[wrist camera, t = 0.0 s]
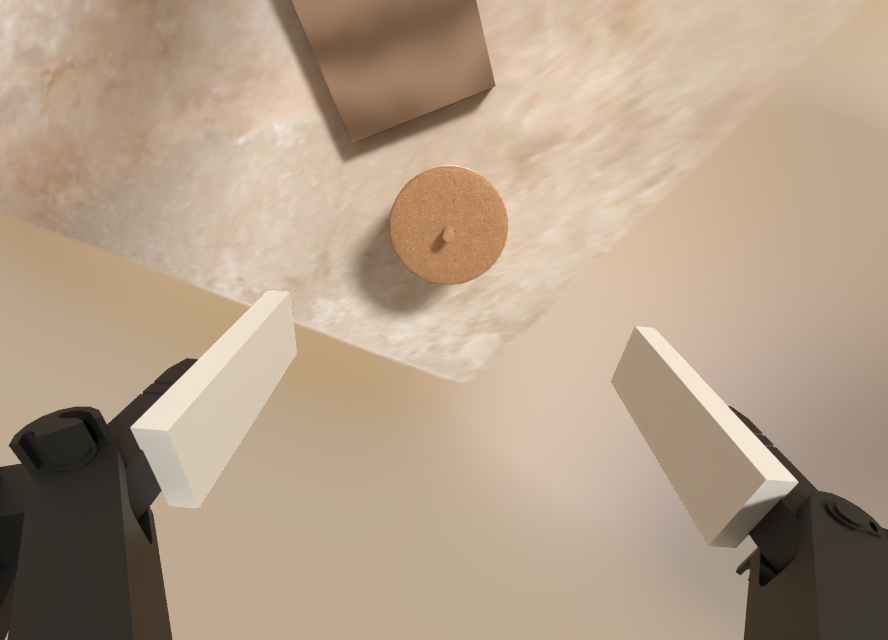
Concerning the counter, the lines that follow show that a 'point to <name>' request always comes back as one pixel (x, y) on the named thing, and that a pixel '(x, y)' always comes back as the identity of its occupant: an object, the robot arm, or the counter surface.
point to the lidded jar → (448, 225)
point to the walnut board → (395, 57)
